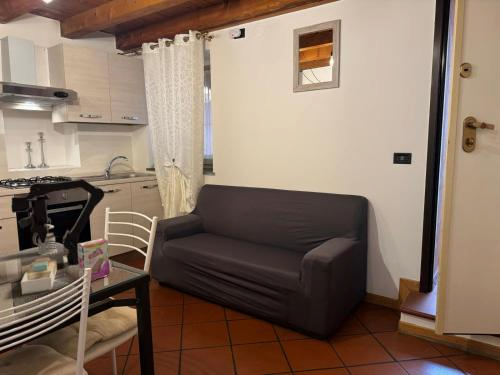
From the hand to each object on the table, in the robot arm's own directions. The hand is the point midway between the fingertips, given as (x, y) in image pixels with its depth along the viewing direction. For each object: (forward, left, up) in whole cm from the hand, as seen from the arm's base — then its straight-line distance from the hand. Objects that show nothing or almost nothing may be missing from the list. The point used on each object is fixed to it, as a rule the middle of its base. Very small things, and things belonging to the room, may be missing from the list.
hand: (43, 242), depth 160 cm
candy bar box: (-21, +25, -12) cm, 35 cm away
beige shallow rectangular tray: (0, +10, -12) cm, 16 cm away
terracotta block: (0, +8, -8) cm, 11 cm away
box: (0, +24, -12) cm, 27 cm away
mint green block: (0, +14, -8) cm, 16 cm away
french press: (+2, -25, -12) cm, 28 cm away
